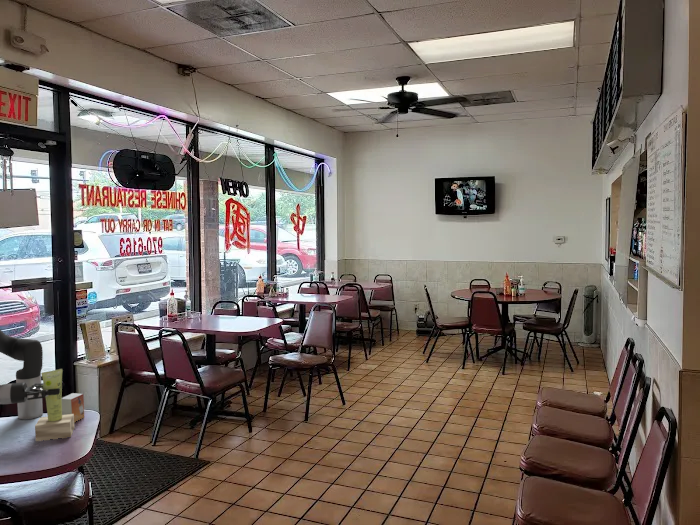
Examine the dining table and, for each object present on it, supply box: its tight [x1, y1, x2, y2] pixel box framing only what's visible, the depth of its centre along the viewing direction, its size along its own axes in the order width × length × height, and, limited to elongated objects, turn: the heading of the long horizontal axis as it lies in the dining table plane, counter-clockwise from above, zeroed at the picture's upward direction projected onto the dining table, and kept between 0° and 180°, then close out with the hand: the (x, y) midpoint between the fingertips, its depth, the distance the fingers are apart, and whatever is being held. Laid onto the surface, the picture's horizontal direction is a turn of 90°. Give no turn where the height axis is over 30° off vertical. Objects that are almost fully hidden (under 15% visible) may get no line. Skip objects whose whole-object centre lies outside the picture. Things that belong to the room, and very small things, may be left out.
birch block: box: [34, 414, 75, 442], centre depth 221 cm, size 10×12×6 cm
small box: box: [62, 392, 85, 424], centre depth 236 cm, size 8×6×10 cm
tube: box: [41, 368, 63, 421], centre depth 220 cm, size 6×5×20 cm
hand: (60, 389), depth 221 cm, fingers open, 5 cm apart
